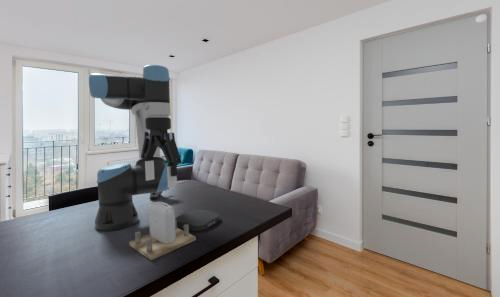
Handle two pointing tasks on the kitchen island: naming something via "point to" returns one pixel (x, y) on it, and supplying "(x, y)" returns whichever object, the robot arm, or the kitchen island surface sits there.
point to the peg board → (161, 243)
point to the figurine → (156, 195)
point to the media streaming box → (197, 219)
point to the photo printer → (162, 222)
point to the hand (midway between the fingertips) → (160, 183)
